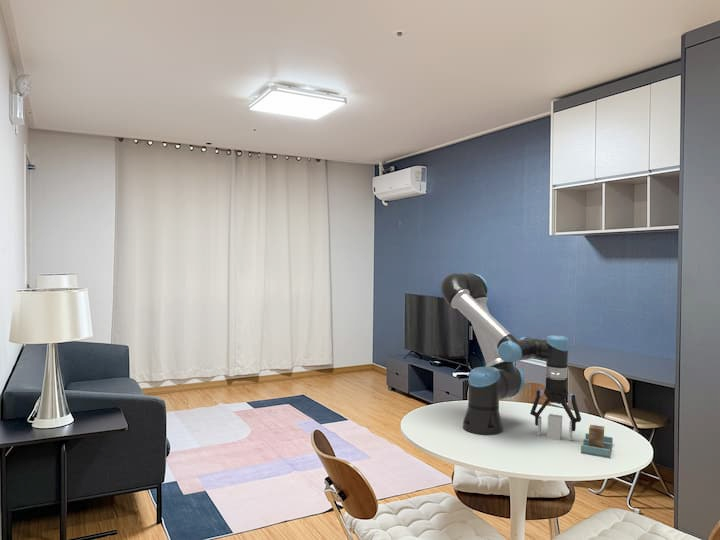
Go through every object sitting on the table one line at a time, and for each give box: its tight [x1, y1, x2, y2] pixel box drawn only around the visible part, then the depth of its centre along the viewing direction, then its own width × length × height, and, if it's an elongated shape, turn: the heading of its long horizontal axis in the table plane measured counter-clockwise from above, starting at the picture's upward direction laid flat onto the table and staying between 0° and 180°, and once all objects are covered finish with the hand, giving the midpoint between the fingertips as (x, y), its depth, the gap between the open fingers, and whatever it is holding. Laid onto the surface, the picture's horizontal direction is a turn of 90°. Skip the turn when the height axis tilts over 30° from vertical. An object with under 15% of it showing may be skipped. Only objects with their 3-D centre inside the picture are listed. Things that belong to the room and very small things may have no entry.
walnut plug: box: [588, 424, 605, 448], centre depth 189 cm, size 4×4×8 cm
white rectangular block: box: [546, 413, 563, 441], centre depth 204 cm, size 4×4×8 cm
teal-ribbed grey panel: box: [580, 432, 614, 459], centre depth 193 cm, size 9×16×3 cm, turn 152°
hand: (554, 436), depth 204 cm, fingers open, 10 cm apart
